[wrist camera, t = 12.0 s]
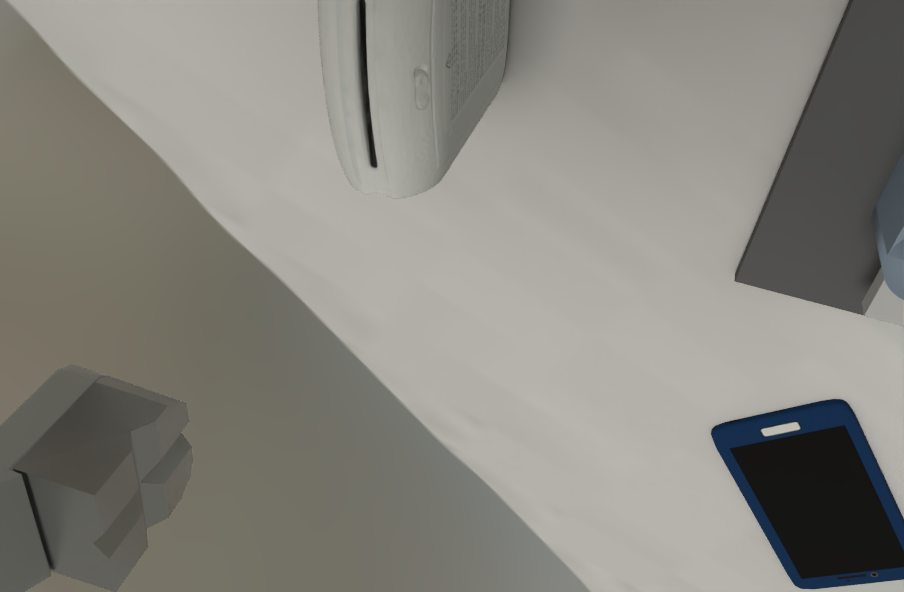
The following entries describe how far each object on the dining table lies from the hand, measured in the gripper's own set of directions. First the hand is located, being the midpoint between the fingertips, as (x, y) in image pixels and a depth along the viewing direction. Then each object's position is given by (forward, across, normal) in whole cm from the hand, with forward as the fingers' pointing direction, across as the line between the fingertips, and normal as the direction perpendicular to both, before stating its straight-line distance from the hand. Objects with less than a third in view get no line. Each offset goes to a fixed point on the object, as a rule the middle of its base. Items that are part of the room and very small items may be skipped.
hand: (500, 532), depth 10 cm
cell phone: (+30, -16, +27) cm, 43 cm away
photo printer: (+29, +8, +3) cm, 31 cm away
